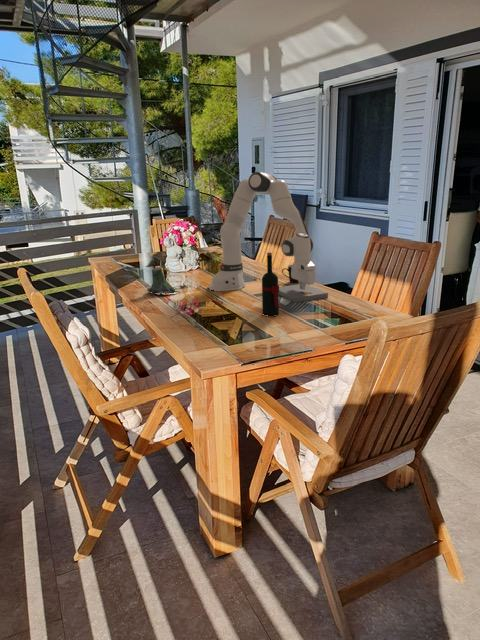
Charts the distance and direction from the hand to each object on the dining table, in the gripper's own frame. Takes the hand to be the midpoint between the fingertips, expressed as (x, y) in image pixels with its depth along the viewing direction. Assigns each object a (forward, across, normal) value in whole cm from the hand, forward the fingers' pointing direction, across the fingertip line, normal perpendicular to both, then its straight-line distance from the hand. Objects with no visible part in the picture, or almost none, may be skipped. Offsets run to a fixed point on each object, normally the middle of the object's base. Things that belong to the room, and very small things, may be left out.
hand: (302, 289), depth 262 cm
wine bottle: (+4, +24, -30) cm, 38 cm away
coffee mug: (+4, -32, +11) cm, 34 cm away
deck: (+4, -2, 0) cm, 4 cm away
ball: (+2, +5, 0) cm, 5 cm away
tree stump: (+4, -47, -66) cm, 81 cm away
